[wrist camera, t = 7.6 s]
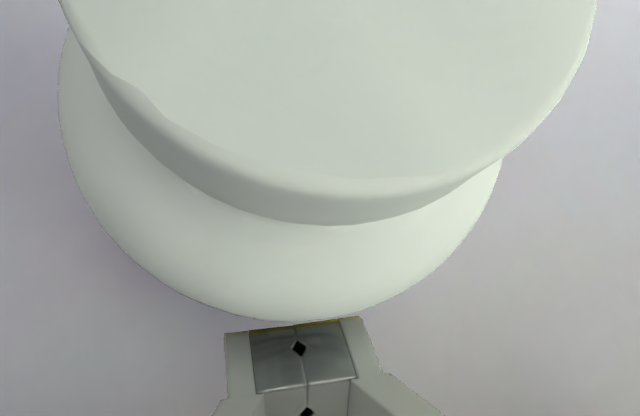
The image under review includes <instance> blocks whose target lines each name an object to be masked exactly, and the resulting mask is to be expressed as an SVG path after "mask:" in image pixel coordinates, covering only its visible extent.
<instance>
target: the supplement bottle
mask: <svg viewBox="0 0 640 416" xmlns="http://www.w3.org/2000/svg"><path fill="white" fill-rule="evenodd" d="M59 3H60V5H61V7H62V10H63V12H64V14H65V17H66V19H67V22H68V24H69V28H68V32H67V35H66V39H65V42H64V46H63V50H62V54H61V60H60V68H59V78H58V111H59V121H60V127H61V133H62V137H63V141H64V146H65V150H66V154H67V158H68V161H69V164H70V166H71V169H72V172H73V174H74V177H75V179H76V181H77V183H78V186H79V188H80V190H81V192H82V194H83V196H84V198H85V200H86V202H87V203H88V205H89V206H90V208H91V209H92V211H93V213H94V214H95V216H96V218H97V219H98V221H99V222H100V224H101V226H102V227H103V228H104V229H105V230H106V232H107V233H108V234H109V235H110V236H111V238H112V239H113V240H114V241H115V242H116V243H117V244H118V245H119V246H120V247H121V249H122V250H123V251H124V252H125V253H127V254H128V255H129V256H130V257H131V258H132V259H133V260H134V261H135V262H136V263H137V264H138V265H140V266H141V267H142V268H143V269H145V270H146V271H147V272H148V273H150V274H151V275H153V276H154V277H156V278H157V279H158V280H160V281H161V282H163V283H164V284H166V285H167V286H169V287H171V288H172V289H174V290H176V291H177V292H179V293H181V294H183V295H185V296H187V297H189V298H191V299H193V300H195V301H198V302H200V303H203V304H206V305H208V306H211V307H214V308H217V309H220V310H222V311H225V312H228V313H231V314H235V315H238V316H243V317H248V318H253V319H260V320H271V321H311V320H319V319H327V318H333V317H337V316H342V315H347V314H351V313H354V312H357V311H360V310H364V309H367V308H369V307H372V306H374V305H377V304H379V303H382V302H384V301H386V300H388V299H390V298H392V297H394V296H396V295H398V294H400V293H401V292H403V291H405V290H407V289H408V288H410V287H411V286H413V285H414V284H416V283H417V282H419V281H420V280H422V279H423V278H425V277H426V276H428V275H429V274H430V273H432V272H433V271H434V270H435V269H436V268H437V267H438V266H439V265H441V264H442V263H443V262H444V261H445V260H446V259H447V258H448V257H449V256H450V255H451V254H452V253H453V251H454V250H455V249H456V248H457V247H458V246H459V244H460V243H461V242H462V241H463V240H464V239H465V237H466V236H467V235H468V233H469V232H470V230H471V229H472V227H473V226H474V224H475V223H476V222H477V220H478V219H479V217H480V215H481V213H482V211H483V209H484V208H485V206H486V204H487V202H488V200H489V198H490V196H491V193H492V190H493V188H494V185H495V182H496V179H497V177H498V174H499V171H500V168H501V165H502V161H503V157H504V156H505V155H506V154H508V153H509V152H510V151H512V150H513V149H514V148H516V147H517V146H518V145H520V144H521V143H522V142H523V141H524V140H525V139H526V138H527V137H528V136H529V135H530V134H531V133H532V132H533V131H534V130H535V129H536V128H537V127H538V126H539V125H540V124H541V123H542V122H543V120H544V119H545V118H546V117H547V116H548V115H549V114H550V112H551V111H552V110H553V109H554V108H555V106H556V105H557V104H558V103H559V101H560V100H561V99H562V97H563V96H564V94H565V92H566V90H567V88H568V86H569V84H570V82H571V81H572V79H573V77H574V75H575V73H576V72H577V70H578V68H579V66H580V64H581V62H582V60H583V58H584V55H585V53H586V50H587V48H588V44H589V40H590V36H591V31H592V27H593V22H594V18H595V13H596V5H597V0H59Z"/></svg>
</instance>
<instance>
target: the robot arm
mask: <svg viewBox="0 0 640 416" xmlns="http://www.w3.org/2000/svg"><path fill="white" fill-rule="evenodd" d="M224 347H225V361H226V376H227V391H228V399H223V400H221V401H220V402H219V404H218V406H217V407H216V409H215V411H214V412H213V414H212V415H211V416H445V415H444V414H442V413H441V412H440V411H438V410H437V409H436V408H434V407H433V406H432V405H431V404H429V403H428V402H427V401H425V400H424V399H423V398H421V397H420V396H419V395H418V394H416V393H415V392H414V391H412V390H411V389H410V388H408V387H407V386H406V385H404V384H403V383H402V382H401V381H399V380H398V379H397V378H395V377H394V376H393V375H391V374H390V373H389V374H383V372H382V369H381V367H380V364H379V361H378V359H377V356H376V354H375V351H374V348H373V346H372V343H371V341H370V338H369V335H368V333H367V330H366V328H365V325H364V322H363V320H362V318H361V317H360V316H354V317H347V318H340V319H331V320H325V321H318V322H311V323H304V324H297V325H293V326H285V327H276V328H267V329H257V330H249V332H248V331H242V332H234V333H225V334H224Z"/></svg>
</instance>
